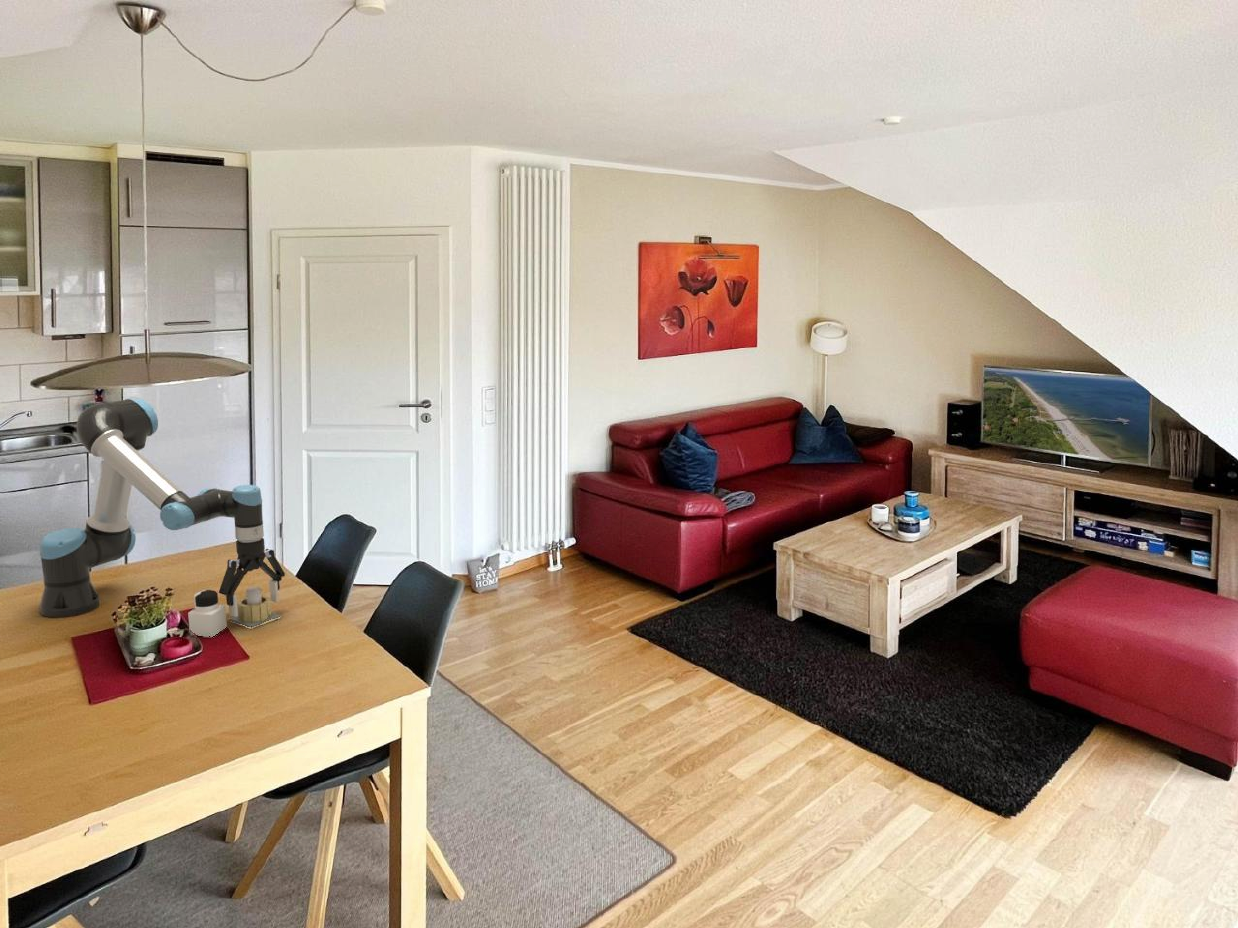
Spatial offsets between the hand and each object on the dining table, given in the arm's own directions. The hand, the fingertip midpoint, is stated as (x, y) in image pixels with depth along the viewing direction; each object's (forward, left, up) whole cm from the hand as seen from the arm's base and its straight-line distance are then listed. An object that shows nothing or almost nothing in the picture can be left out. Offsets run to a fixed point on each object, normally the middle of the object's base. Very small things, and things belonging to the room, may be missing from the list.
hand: (254, 608), depth 257 cm
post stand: (0, 0, -4) cm, 4 cm away
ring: (0, 0, -3) cm, 3 cm away
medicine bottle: (-3, -13, -4) cm, 14 cm away
